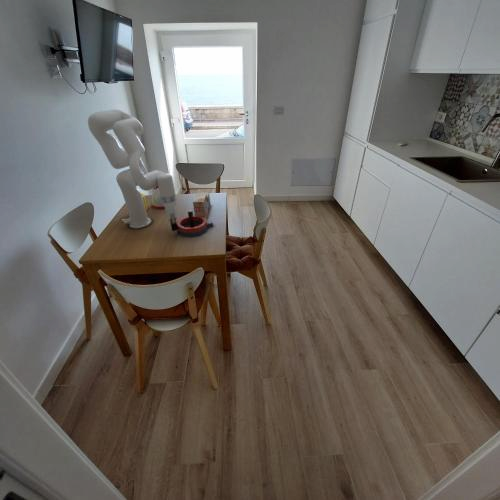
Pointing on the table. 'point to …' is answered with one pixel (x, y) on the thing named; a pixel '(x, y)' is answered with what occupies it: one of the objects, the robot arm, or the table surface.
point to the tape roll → (144, 202)
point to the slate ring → (209, 224)
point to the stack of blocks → (202, 204)
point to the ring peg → (191, 220)
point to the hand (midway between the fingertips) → (174, 228)
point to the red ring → (193, 229)
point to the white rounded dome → (157, 199)
